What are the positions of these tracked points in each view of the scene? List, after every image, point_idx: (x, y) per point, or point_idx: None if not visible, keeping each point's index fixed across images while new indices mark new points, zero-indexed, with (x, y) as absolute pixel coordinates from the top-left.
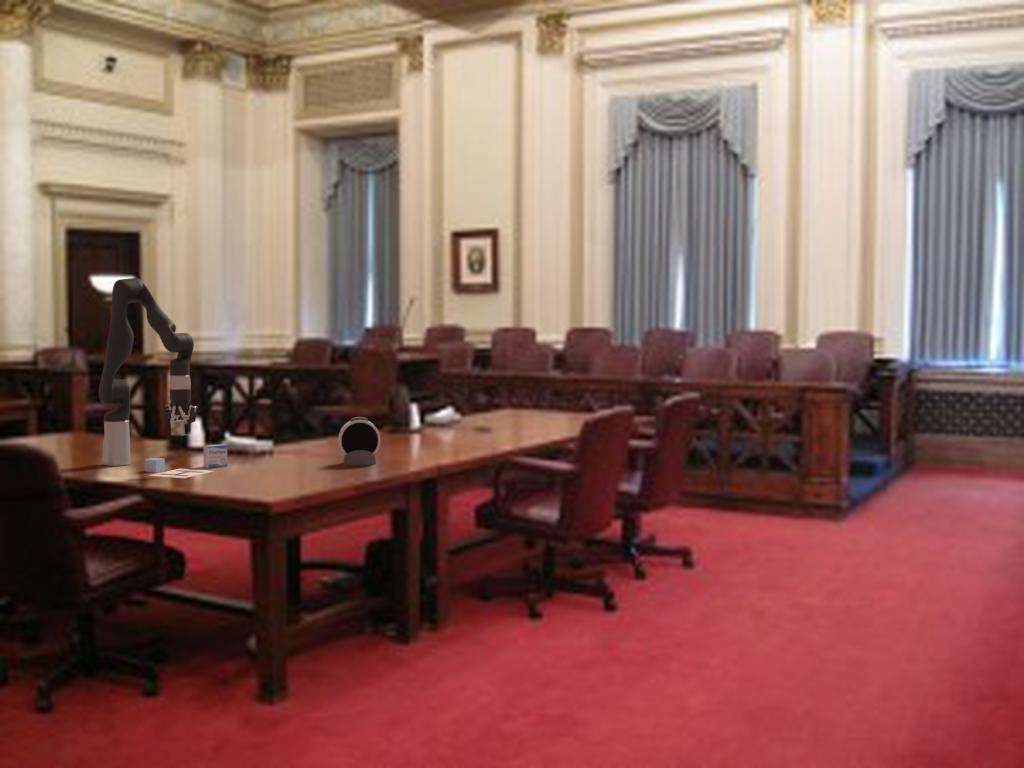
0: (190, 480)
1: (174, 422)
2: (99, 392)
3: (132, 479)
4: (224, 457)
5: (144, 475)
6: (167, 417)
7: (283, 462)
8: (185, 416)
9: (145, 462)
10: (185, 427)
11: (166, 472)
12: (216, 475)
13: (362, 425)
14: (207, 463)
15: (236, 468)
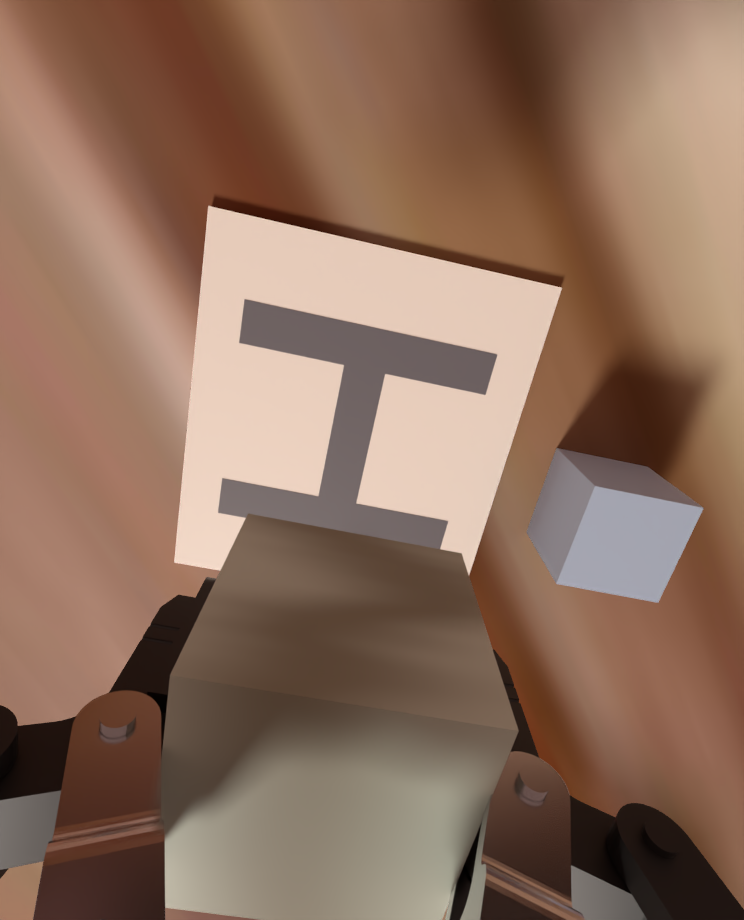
0: (123, 147)
1: (406, 697)
2: None
3: (638, 110)
4: None
5: (608, 339)
6: (688, 905)
7: (8, 892)
8: (43, 884)
9: (684, 495)
10: (181, 645)
11: (477, 449)
12: (78, 429)
13: None
14: None
15: None
